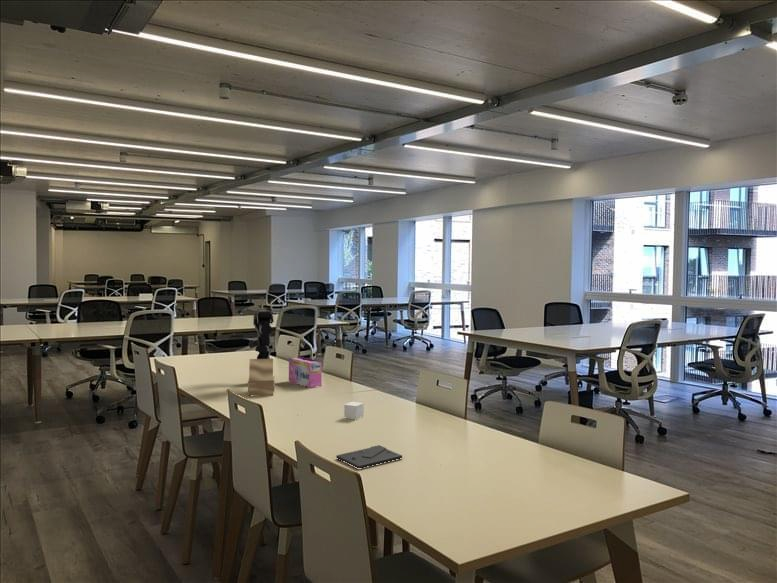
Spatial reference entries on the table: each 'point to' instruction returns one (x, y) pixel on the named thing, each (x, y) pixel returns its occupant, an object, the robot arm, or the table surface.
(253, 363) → the flap
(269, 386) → the carton
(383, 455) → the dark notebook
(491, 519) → the table surface
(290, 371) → the gum box
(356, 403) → the white cube
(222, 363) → the table surface
